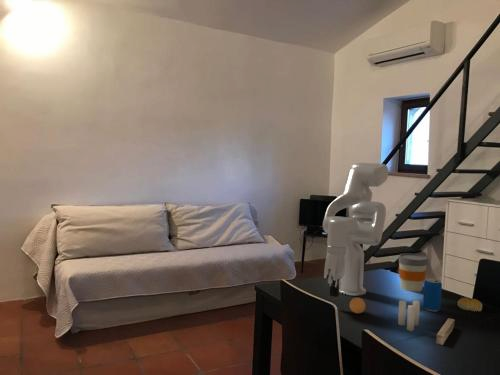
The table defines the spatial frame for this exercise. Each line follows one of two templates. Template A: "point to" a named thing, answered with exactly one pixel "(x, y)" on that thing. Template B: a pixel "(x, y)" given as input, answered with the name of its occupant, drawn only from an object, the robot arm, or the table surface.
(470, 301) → the bread roll
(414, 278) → the reusable coffee cup
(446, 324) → the cream long bar
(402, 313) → the front pin
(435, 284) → the beverage can
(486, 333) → the table surface
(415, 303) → the pin
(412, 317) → the pin
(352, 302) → the ball
